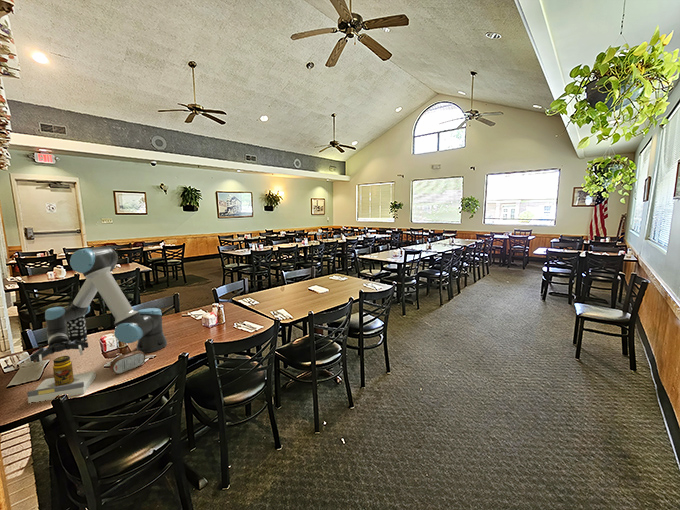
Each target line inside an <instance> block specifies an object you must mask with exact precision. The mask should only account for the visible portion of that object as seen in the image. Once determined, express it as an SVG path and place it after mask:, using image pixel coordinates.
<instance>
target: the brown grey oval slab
mask: <svg viewBox="0 0 680 510" xmlns="http://www.w3.org/2000/svg"><path fill="white" fill-rule="evenodd" d="M145 361H146V354H145V353H143V352H142V351H137V350H134V351H131V352H128V353H125V354H122V355H119V356H117V357H115V358H114V359H113V360H112V361H110V363H109V364H110V365H109V370H110V371H111V373H114V374H116V375H120V374H124V373H126V371H127V372H129V371H131V369H132V370H134V369H137V368H139V367H141V366H142V365H143V364H144V363H145ZM138 366H139V367H138ZM136 367H137V368H136ZM133 368H134V369H133ZM128 370H129V371H128Z"/></svg>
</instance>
